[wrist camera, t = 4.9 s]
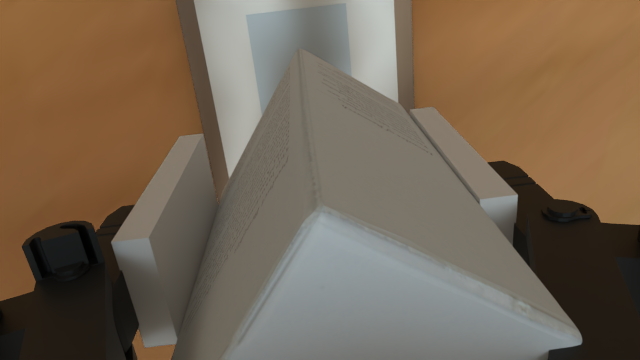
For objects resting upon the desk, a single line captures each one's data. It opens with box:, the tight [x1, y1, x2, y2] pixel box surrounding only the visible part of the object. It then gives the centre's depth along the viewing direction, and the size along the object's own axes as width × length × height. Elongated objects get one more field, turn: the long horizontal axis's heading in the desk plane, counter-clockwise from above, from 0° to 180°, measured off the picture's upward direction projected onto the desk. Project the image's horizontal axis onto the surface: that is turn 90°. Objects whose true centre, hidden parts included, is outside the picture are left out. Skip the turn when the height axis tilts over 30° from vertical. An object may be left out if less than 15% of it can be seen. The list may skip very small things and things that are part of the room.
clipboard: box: [176, 0, 415, 202], centre depth 29 cm, size 13×17×1 cm
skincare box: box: [171, 49, 582, 360], centre depth 12 cm, size 6×4×12 cm
